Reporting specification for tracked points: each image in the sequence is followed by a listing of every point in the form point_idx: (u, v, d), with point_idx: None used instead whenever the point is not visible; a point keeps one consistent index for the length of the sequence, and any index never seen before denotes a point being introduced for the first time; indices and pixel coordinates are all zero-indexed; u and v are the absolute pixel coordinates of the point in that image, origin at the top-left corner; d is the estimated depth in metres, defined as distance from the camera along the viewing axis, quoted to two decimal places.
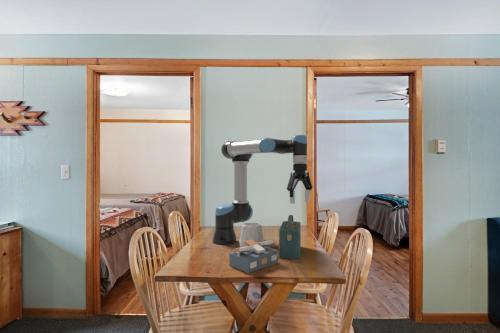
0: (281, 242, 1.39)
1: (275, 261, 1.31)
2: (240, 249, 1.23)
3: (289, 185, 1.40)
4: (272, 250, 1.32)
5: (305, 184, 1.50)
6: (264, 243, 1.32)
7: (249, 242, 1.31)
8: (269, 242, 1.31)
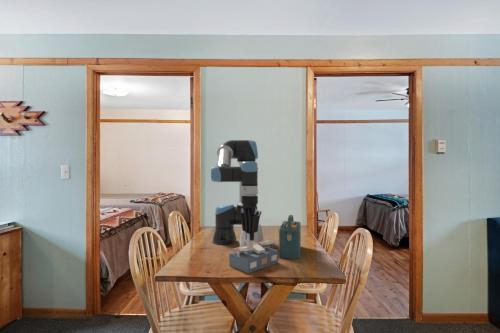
0: (281, 242, 1.39)
1: (275, 261, 1.31)
2: (240, 249, 1.23)
3: None
4: (272, 250, 1.32)
5: None
6: (264, 243, 1.32)
7: None
8: (269, 242, 1.31)
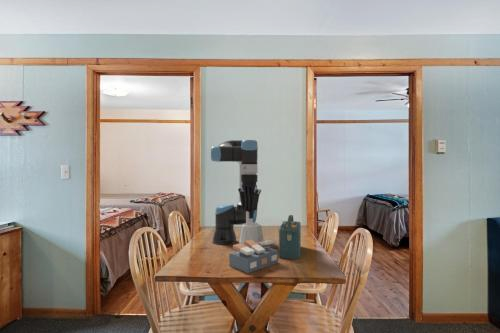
0: (281, 242, 1.39)
1: (275, 261, 1.31)
2: (241, 250, 1.23)
3: None
4: (272, 250, 1.32)
5: None
6: (264, 243, 1.32)
7: (249, 242, 1.31)
8: (269, 242, 1.31)
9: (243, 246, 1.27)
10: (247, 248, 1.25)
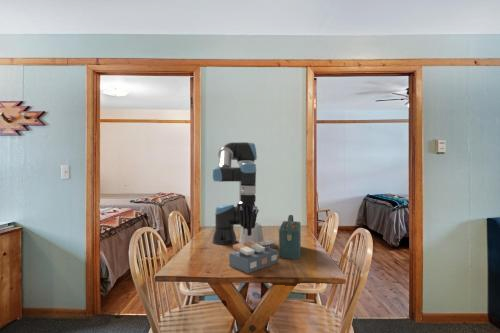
0: (281, 242, 1.39)
1: (275, 261, 1.31)
2: (241, 250, 1.23)
3: None
4: (272, 250, 1.32)
5: None
6: (264, 243, 1.32)
7: (249, 243, 1.31)
8: (269, 242, 1.31)
9: (243, 246, 1.27)
10: (247, 248, 1.25)
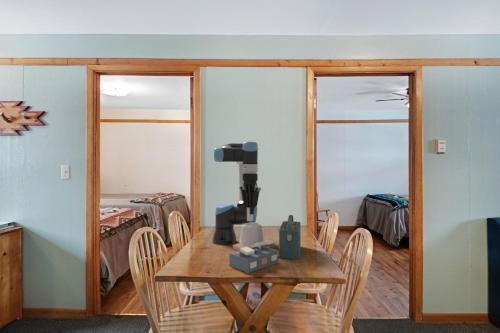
0: (281, 242, 1.39)
1: (275, 261, 1.31)
2: (241, 250, 1.23)
3: None
4: (272, 250, 1.32)
5: None
6: (264, 243, 1.32)
7: None
8: (269, 242, 1.31)
9: (243, 246, 1.27)
10: (247, 248, 1.25)
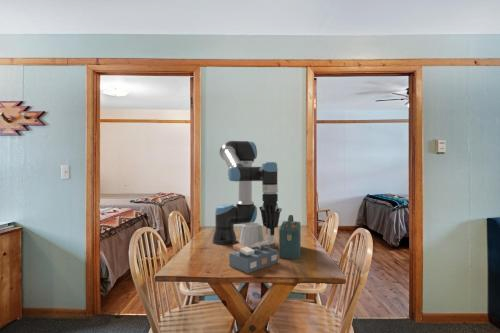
0: (281, 242, 1.39)
1: (275, 261, 1.31)
2: (241, 250, 1.23)
3: None
4: (272, 250, 1.32)
5: None
6: (264, 243, 1.32)
7: None
8: (269, 242, 1.31)
9: (243, 246, 1.27)
10: (247, 248, 1.25)
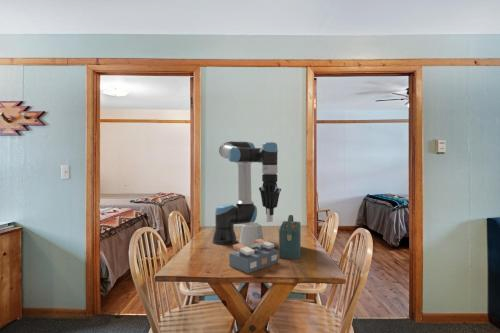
0: (281, 242, 1.39)
1: (275, 261, 1.31)
2: (241, 250, 1.23)
3: None
4: (272, 250, 1.32)
5: None
6: (265, 246, 1.31)
7: None
8: (270, 246, 1.31)
9: (243, 246, 1.27)
10: (247, 248, 1.25)
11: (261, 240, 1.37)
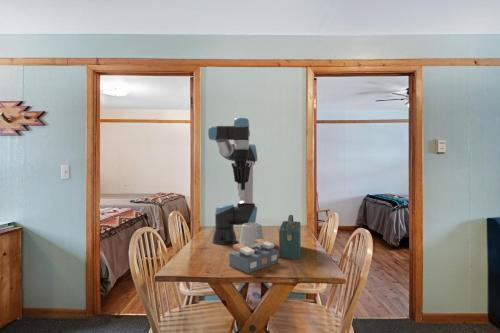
0: (281, 242, 1.39)
1: (275, 261, 1.31)
2: (241, 250, 1.23)
3: None
4: (272, 250, 1.32)
5: None
6: (265, 246, 1.31)
7: None
8: (270, 246, 1.31)
9: (243, 246, 1.27)
10: (247, 248, 1.25)
11: (261, 240, 1.37)
